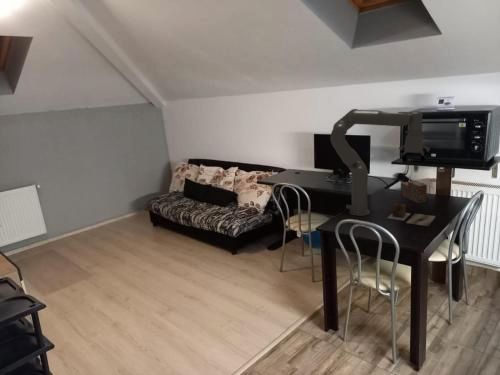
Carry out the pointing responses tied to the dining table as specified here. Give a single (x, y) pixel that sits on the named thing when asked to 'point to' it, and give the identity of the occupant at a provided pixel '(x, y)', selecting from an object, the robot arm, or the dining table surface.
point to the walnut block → (399, 210)
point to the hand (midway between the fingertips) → (413, 161)
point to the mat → (398, 217)
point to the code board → (421, 219)
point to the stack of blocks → (414, 191)
